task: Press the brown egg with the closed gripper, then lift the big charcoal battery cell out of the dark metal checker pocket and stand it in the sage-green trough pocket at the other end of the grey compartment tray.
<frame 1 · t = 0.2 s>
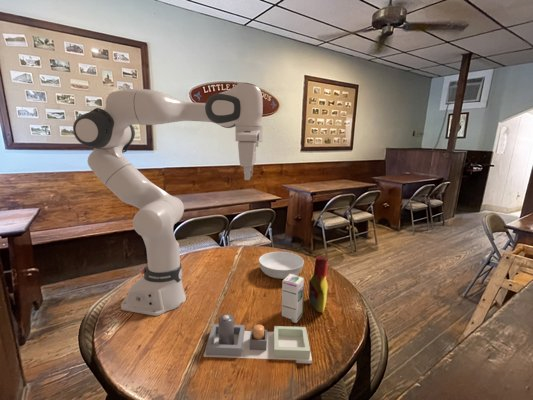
hand: (248, 178, 91), 47 cm above the table, fingers open, 8 cm apart
syrup box: (292, 316, 94), on the table
grey compartment tray: (258, 346, 79), on the table
bottle: (317, 306, 100), on the table
cell: (226, 342, 79), point 1 cm above the table, touching grey compartment tray
brown egg: (258, 333, 78), point 5 cm above the table, slide at 0.0 cm
serving bowl: (280, 273, 125), on the table
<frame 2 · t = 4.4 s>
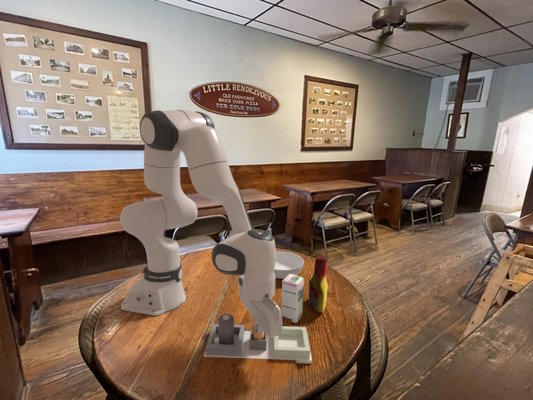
hand: (258, 330, 78), 6 cm above the table, fingers closed, pressing on brown egg
brown egg: (258, 335, 78), point 4 cm above the table, slide at 0.7 cm, touching gripper
everything else where it was.
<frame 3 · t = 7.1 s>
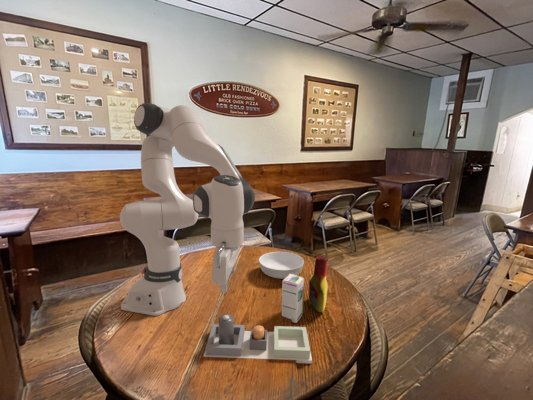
hand: (227, 281, 76), 20 cm above the table, fingers open, 8 cm apart
brown egg: (258, 334, 78), point 4 cm above the table, slide at 0.3 cm
everything else where it was.
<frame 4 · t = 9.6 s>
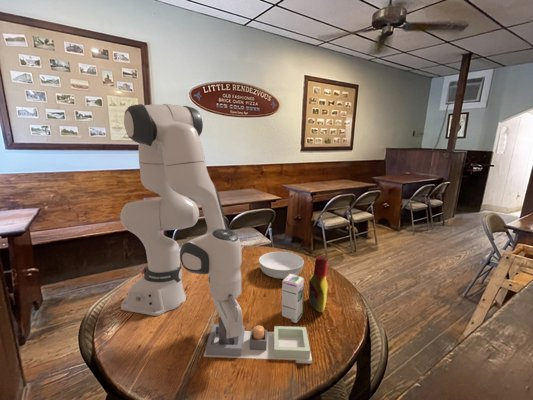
hand: (226, 330, 78), 5 cm above the table, fingers closed on cell, 4 cm apart
cell: (226, 342, 79), point 1 cm above the table, touching grey compartment tray, gripper
everything else where it was.
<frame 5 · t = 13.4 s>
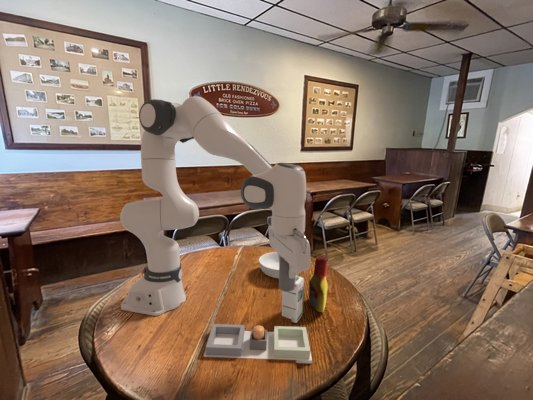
hand: (287, 272, 74), 24 cm above the table, fingers closed on cell, 4 cm apart
cell: (286, 287, 75), point 20 cm above the table, touching gripper
everything else where it was.
when the fingers open (7 cm above the table, at t = 17.2 s): cell drops 1 cm, resting on grey compartment tray.
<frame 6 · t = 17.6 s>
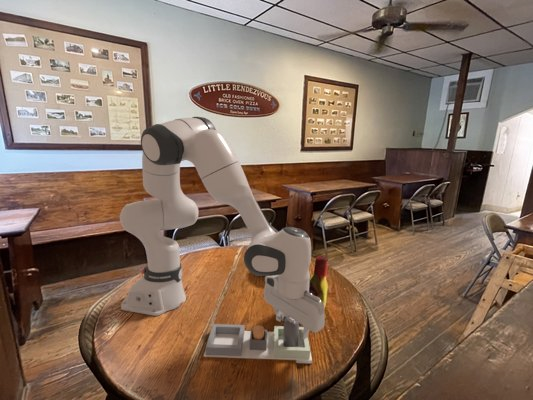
hand: (291, 328, 78), 7 cm above the table, fingers open, 8 cm apart
cell: (290, 345, 79), point 1 cm above the table, touching grey compartment tray
everything else where it was.
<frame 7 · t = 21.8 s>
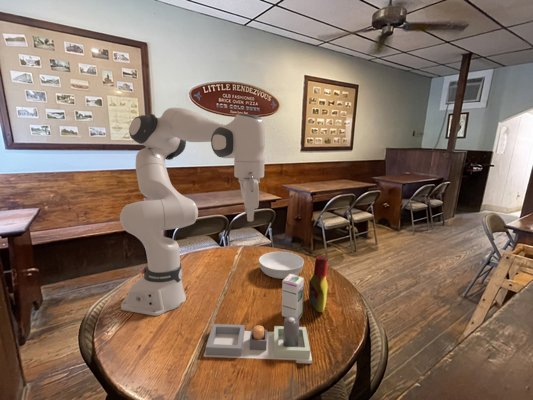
hand: (248, 216, 82), 37 cm above the table, fingers open, 8 cm apart
nothing on the table moved.
at the end: cell 0.1 cm from the target spot on the grey compartment tray, point 1.0 cm above the grey compartment tray's base; cell tilted 0°; the gripper is holding nothing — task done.
